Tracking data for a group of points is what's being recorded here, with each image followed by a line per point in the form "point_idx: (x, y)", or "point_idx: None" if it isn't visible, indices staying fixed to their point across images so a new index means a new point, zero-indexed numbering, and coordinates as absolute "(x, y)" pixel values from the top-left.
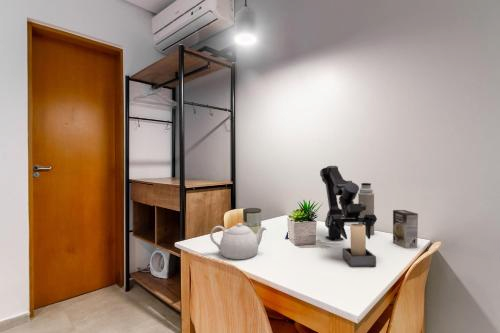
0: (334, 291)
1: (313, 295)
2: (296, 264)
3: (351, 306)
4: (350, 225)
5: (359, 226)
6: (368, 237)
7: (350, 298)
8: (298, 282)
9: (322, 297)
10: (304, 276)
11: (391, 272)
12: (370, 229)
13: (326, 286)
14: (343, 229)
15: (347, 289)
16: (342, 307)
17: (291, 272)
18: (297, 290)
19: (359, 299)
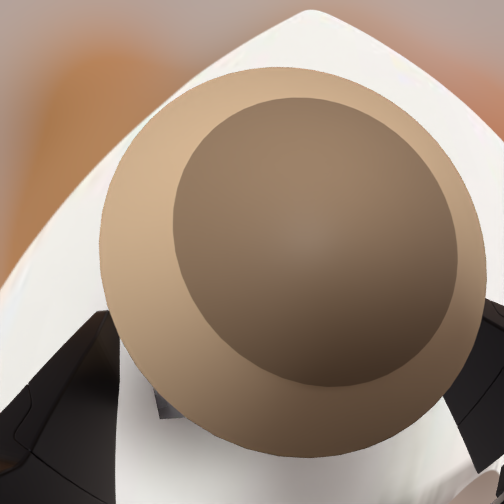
0: (362, 61)
1: (402, 59)
2: (495, 240)
3: (320, 20)
4: (479, 241)
5: (307, 104)
6: (112, 332)
7: (322, 36)
8: (451, 114)
9: (383, 50)
10: (452, 143)
11: (105, 183)
12: (22, 390)
13: (386, 83)
14: (489, 307)
15: (329, 63)
16: (338, 22)
17: (486, 173)
18: (437, 82)
19: (300, 32)
